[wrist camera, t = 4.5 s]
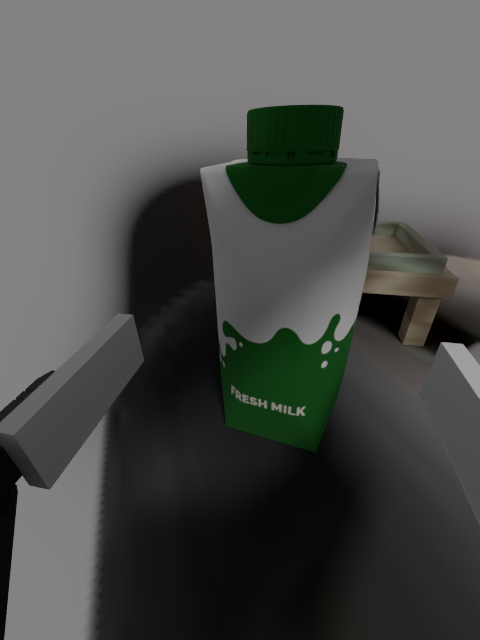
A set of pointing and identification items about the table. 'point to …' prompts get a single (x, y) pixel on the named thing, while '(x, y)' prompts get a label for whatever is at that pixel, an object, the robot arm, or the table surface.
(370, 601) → the table surface
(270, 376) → the milk carton
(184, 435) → the table surface
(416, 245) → the stool
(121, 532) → the table surface
